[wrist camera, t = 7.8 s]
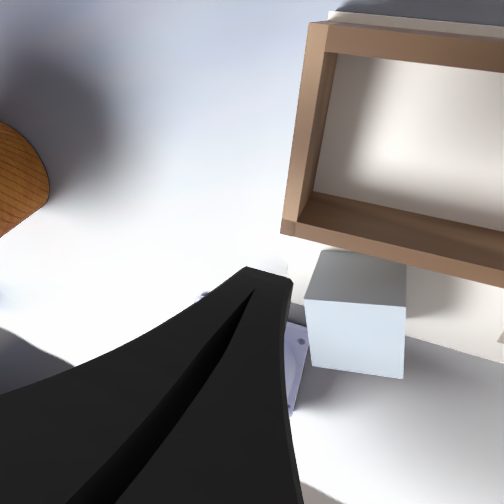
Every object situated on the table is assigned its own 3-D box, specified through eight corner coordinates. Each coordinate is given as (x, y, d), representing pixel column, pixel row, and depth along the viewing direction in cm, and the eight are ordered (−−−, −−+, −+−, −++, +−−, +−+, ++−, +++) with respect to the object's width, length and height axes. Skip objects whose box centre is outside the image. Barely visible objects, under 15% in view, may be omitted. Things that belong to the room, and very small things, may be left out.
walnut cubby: (558, 259, 15) (588, 309, 13) (298, 201, 18) (279, 233, 15) (695, 57, 11) (781, 71, 8) (327, 20, 14) (308, 22, 11)
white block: (404, 318, 19) (403, 379, 16) (326, 311, 21) (312, 365, 17) (406, 252, 17) (406, 307, 14) (321, 250, 19) (303, 298, 16)
